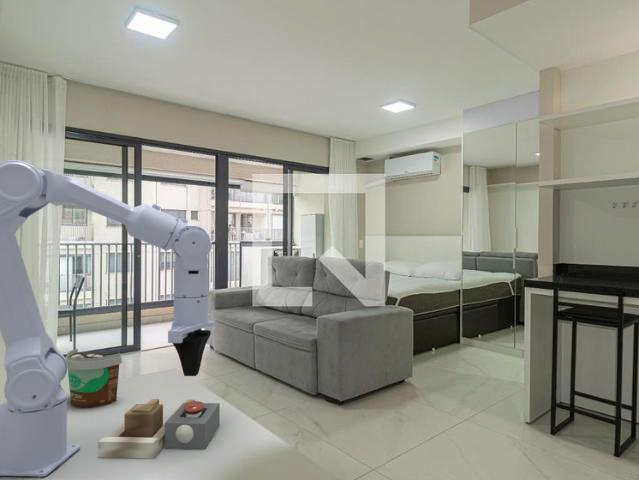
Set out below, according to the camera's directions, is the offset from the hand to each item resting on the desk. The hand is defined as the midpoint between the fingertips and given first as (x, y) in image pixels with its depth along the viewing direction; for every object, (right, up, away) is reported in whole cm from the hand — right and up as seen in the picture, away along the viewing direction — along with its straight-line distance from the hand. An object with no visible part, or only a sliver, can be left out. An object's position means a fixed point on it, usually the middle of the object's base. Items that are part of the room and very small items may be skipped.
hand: (191, 374), depth 69 cm
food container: (-25, -10, +12) cm, 30 cm away
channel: (-7, -10, +1) cm, 12 cm away
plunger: (+1, -9, -1) cm, 10 cm away
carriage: (-7, -10, -2) cm, 13 cm away
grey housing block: (+1, -10, -2) cm, 10 cm away
